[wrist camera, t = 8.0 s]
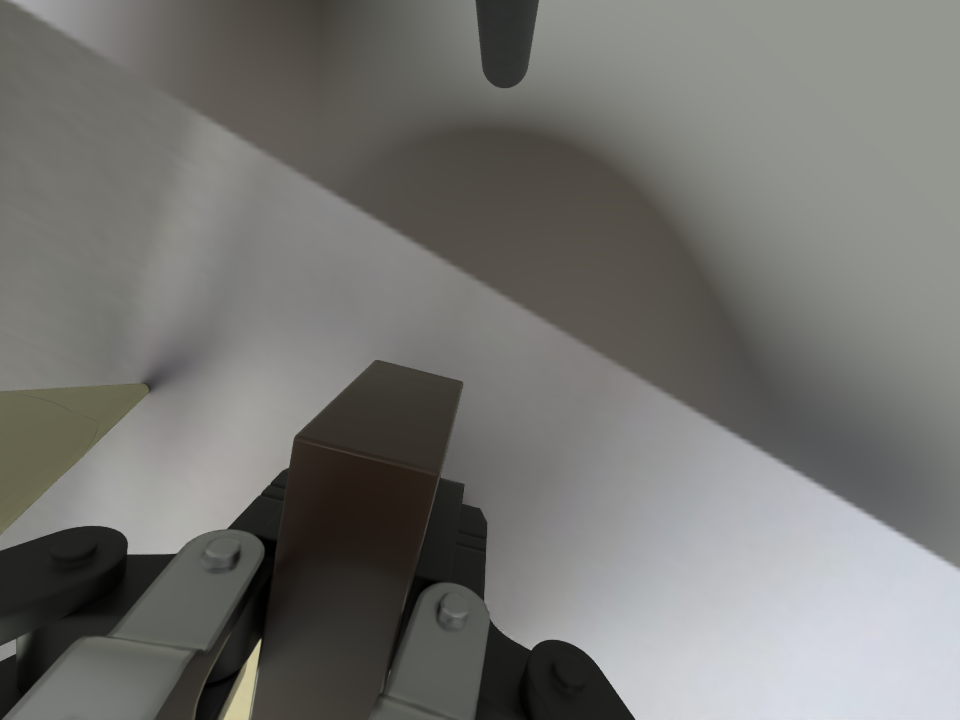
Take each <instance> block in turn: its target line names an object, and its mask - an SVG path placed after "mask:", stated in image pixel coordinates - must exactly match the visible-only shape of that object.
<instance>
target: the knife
mask: <svg viewBox="0 0 960 720" xmlns="http://www.w3.org/2000/svg"><path fill="white" fill-rule="evenodd" d="M462 389H463V382H461V381H458V380H454V379H450V378H446V377H442V376H439V375H435V374H431V373H427V372H423V371H419V370H415V369H411V368H408V367H404V366H400V365H396V364H392V363H388V362H384V361H380V360H375V361H374V362H373V363H372V364H371V365H370V366H369V367H368V368H367V369H366V370H365V371H363V372H362V373H361V374H360V375H359V376H358V377H357V378H356V379H355V380H354V381H353V382H352V383H351V384H350V385H349V386H348V387H347V388H345V389H344V390H343V391H342V392H341V393H340V394H339V395H338V396H337V397H336V398H335V399H334V400H333V401H332V402H331V403H330V404H329V405H328V406H326V407H325V408H324V409H323V410H322V411H321V412H320V413H319V414H318V415H317V416H316V417H315V418H314V419H313V420H312V421H311V422H310V423H309V424H307V425H306V426H305V427H304V428H303V429H302V430H301V431H300V432H299V433H298V434H297V435H296V436H295V437H294V441H293V447H292V453H291V460H290V466H289V472H288V478H287V484H286V491H285V497H284V503H283V509H282V515H281V521H280V528H279V534H278V540H277V546H276V552H275V559H274V565H273V571H272V577H271V583H270V589H269V596H268V602H267V608H266V614H265V620H264V627H263V633H262V639H261V645H260V651H259V657H258V664H257V670H256V676H255V682H254V688H253V695H252V701H251V707H250V713H249V719H248V720H368V719H369V716H370V714H371V711H372V709H373V706H374V704H375V701H376V699H377V697H378V695H379V693H382V692H383V689H384V687H385V684H386V682H387V679H388V676H389V672H390V668H391V664H392V660H393V656H394V653H395V649H396V645H397V641H398V637H399V633H400V630H401V626H402V622H403V618H404V614H405V610H406V606H407V603H408V599H409V595H410V591H411V587H412V583H413V580H414V576H415V572H416V568H417V564H418V560H419V556H420V553H421V549H422V545H423V541H424V537H425V533H426V529H427V526H428V522H429V518H430V514H431V510H432V506H433V503H434V499H435V495H436V491H437V487H438V483H439V479H440V476H441V472H442V468H443V464H444V460H445V456H446V452H447V448H448V444H449V440H450V436H451V432H452V428H453V424H454V420H455V417H456V413H457V409H458V405H459V401H460V397H461V393H462Z"/></svg>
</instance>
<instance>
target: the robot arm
mask: <svg viewBox="0 0 960 720" xmlns="http://www.w3.org/2000/svg"><path fill="white" fill-rule="evenodd" d="M288 472H289V468H288V469H286V470H283V471H282V472H281V473H280V474H279V475H278V476H277V477H276V478H275V479H274V480H273V481H272V482H271V484H270V485H268V486H267V488H266V489H265V490H264V491H263V492H262V493H261V495H260V496H258V497H257V498H256V499H255V500H254V501H253V502H252V503H251V504H250V505H249V506H248V508H247V509H246V510H245V511H244V512H243V513H242V514H241V515H240V516H239V517H238V518H237V519H236V520H235V521H234V522H233V523H232V524H231V525H230V526H229V527H228V529H225V530H217V531H212V532H208V533H205V534H202V535H200V536H198V537H196V538H194V539H192V540H191V541H190V542H188V543H187V544H186V545H185V546H184V547H183V548H182V549H181V550H180V551H179V552H178V553H177V554H154V555H127V549H128V542H127V539H126V537H125V536H124V535H123V534H122V533H121V532H119V531H117V530H115V529H112V528H108V527H102V526H83V527H76V528H71V529H66V530H62V531H59V532H56V533H53V534H50V535H47V536H44V537H41V538H38V539H35V540H32V541H29V542H26V543H23V544H20V545H17V546H14V547H11V548H8V549H5V550H2V551H0V646H1V645H3V644H5V643H7V642H10V641H12V640H14V639H16V654H15V655H13V656H11V657H9V658H7V659H4V660H2V661H0V720H224V718H225V716H226V713H227V711H228V709H229V707H230V705H231V703H232V701H233V698H234V696H235V694H236V692H237V690H238V688H239V686H240V683H241V681H242V679H243V677H244V675H245V672H246V668H247V661H248V659H249V657H250V656H251V654H252V652H253V651H254V649H255V647H256V646H257V644H258V642H259V641H260V639H262V633H263V627H264V620H265V614H266V608H267V602H268V596H269V589H270V583H271V577H272V571H273V565H274V559H275V552H276V546H277V540H278V534H279V528H280V521H281V515H282V509H283V503H284V497H285V491H286V484H287V478H288ZM463 492H464V484H462V483H458V482H454V481H450V480H446V479H442V478H440V479H439V483H438V487H437V491H436V495H435V499H434V503H433V506H432V510H431V514H430V518H429V522H428V526H427V529H426V533H425V537H424V541H423V545H422V549H421V553H420V556H419V560H418V564H417V568H416V572H415V576H414V580H413V583H412V587H411V591H410V595H409V599H408V603H407V606H406V610H405V614H404V618H403V622H402V626H401V630H400V633H399V637H398V641H397V645H396V649H395V653H394V656H393V660H392V664H391V668H390V674H389V676H388V679H387V682H386V684H385V687H384V689H383V692H382V693H379V695H378V697H377V699H376V701H375V704H374V706H373V709H372V711H371V714H370V716H369V719H368V720H635V718H634V717H633V715H632V714H631V713H630V711H629V710H628V708H627V707H626V705H625V704H624V703H623V701H622V700H621V698H620V697H619V695H618V694H617V693H616V691H615V690H614V688H613V687H612V685H611V684H610V683H609V681H608V680H607V678H606V677H605V675H604V674H603V672H602V671H601V670H600V668H599V667H598V666H597V664H596V663H595V662H594V661H593V660H592V659H591V658H590V657H589V656H588V655H587V654H586V653H585V652H584V651H582V650H581V649H579V648H578V647H576V646H574V645H572V644H570V643H567V642H564V641H560V640H546V641H543V642H540V643H539V644H537V645H536V646H535V647H534V648H533V649H532V651H531V650H529V649H527V648H525V647H523V646H522V645H520V644H518V643H516V642H514V641H513V640H511V639H510V638H508V637H506V636H505V635H504V634H503V633H502V632H500V631H499V630H498V629H497V628H496V627H495V625H494V624H493V623H492V621H491V620H490V616H489V612H488V609H487V607H486V605H485V603H484V587H485V564H486V542H487V540H486V538H487V521H486V519H485V517H484V515H483V514H482V512H481V510H480V508H476V507H472V506H468V505H464V504H462V499H463Z"/></svg>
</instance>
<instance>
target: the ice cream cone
mask: <svg viewBox="0 0 960 720" xmlns="http://www.w3.org/2000/svg"><path fill="white" fill-rule="evenodd" d="M148 393H149V388H148V386H147V385H146V384H143V383H141V384H124V385H106V386H89V387H71V388H54V389H36V390H19V391H1V392H0V535H1V534H2V533H3V532H4V531H5V530H6V529H7V528H8V527H9V526H10V525H11V524H12V523H13V522H14V521H15V520H16V519H17V518H18V517H20V516H21V515H22V514H23V513H24V512H25V511H26V510H27V509H28V508H29V507H30V506H31V505H32V504H33V503H34V502H35V501H36V500H37V499H38V498H39V497H40V496H41V495H42V494H43V493H44V492H45V491H47V490H48V489H49V488H50V487H51V486H52V485H53V484H54V483H55V482H56V481H57V480H58V479H59V478H60V477H61V476H62V475H63V474H64V473H65V472H66V471H68V470H69V469H70V468H71V467H72V466H73V465H74V464H75V463H76V462H77V461H78V460H79V459H80V458H82V457H83V456H84V455H85V454H86V453H87V452H88V451H89V450H90V449H91V448H92V447H93V446H94V445H95V444H96V443H97V442H98V441H99V440H100V439H101V438H102V437H103V436H104V435H105V434H106V433H107V432H108V431H110V430H111V429H112V428H113V427H114V426H115V425H116V424H117V423H118V422H119V421H120V420H121V419H122V418H123V417H124V416H125V415H126V414H127V413H128V412H129V411H130V410H131V409H132V408H133V407H134V406H135V405H136V404H137V403H139V402H140V401H141V400H142V399H143V398H144V397H145V396H146V395H147V394H148Z"/></svg>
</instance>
